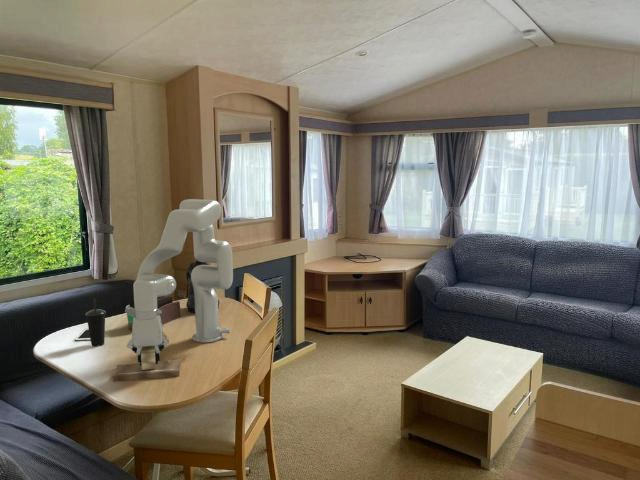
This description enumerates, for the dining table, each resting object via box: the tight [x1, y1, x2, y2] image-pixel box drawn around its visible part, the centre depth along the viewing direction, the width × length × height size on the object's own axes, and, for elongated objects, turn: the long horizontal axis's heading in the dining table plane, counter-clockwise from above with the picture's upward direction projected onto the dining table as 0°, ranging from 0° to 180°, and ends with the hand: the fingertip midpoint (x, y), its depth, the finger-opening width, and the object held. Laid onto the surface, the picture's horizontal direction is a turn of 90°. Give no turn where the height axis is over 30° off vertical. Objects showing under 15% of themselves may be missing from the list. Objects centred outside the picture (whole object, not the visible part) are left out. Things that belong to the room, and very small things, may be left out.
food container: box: [124, 304, 135, 331], centre depth 224 cm, size 12×6×10 cm, turn 69°
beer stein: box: [185, 260, 221, 315], centre depth 253 cm, size 16×19×25 cm
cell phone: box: [74, 328, 91, 342], centre depth 217 cm, size 8×15×1 cm, turn 7°
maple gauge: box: [141, 346, 156, 370], centre depth 177 cm, size 5×5×7 cm
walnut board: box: [112, 359, 181, 383], centre depth 178 cm, size 22×10×2 cm, turn 103°
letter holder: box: [157, 295, 182, 326], centre depth 235 cm, size 10×20×14 cm, turn 158°
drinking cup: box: [84, 296, 107, 348], centre depth 204 cm, size 8×8×20 cm
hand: (149, 363), depth 178 cm, fingers closed on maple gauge, 4 cm apart
